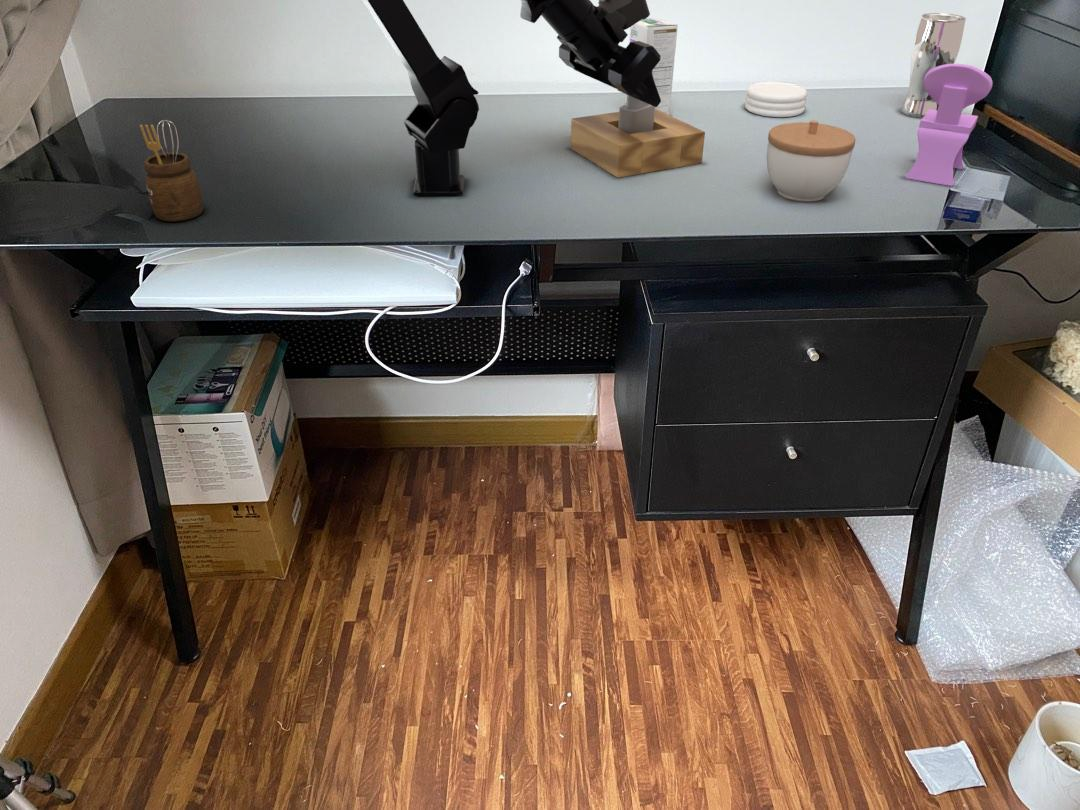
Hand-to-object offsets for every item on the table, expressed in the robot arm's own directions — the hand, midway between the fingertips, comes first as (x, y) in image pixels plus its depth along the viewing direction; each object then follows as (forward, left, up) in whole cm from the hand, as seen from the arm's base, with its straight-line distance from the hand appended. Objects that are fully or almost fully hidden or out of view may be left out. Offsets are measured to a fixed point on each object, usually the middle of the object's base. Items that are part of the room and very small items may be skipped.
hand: (640, 96), depth 121 cm
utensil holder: (-20, +60, -9) cm, 64 cm away
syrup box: (+21, -5, -9) cm, 23 cm away
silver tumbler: (+20, -51, -9) cm, 55 cm away
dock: (0, 0, -8) cm, 8 cm away
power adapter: (0, 0, -9) cm, 9 cm away
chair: (-9, -41, -9) cm, 43 cm away
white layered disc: (+23, -27, -9) cm, 36 cm away
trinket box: (-16, -20, -9) cm, 27 cm away
